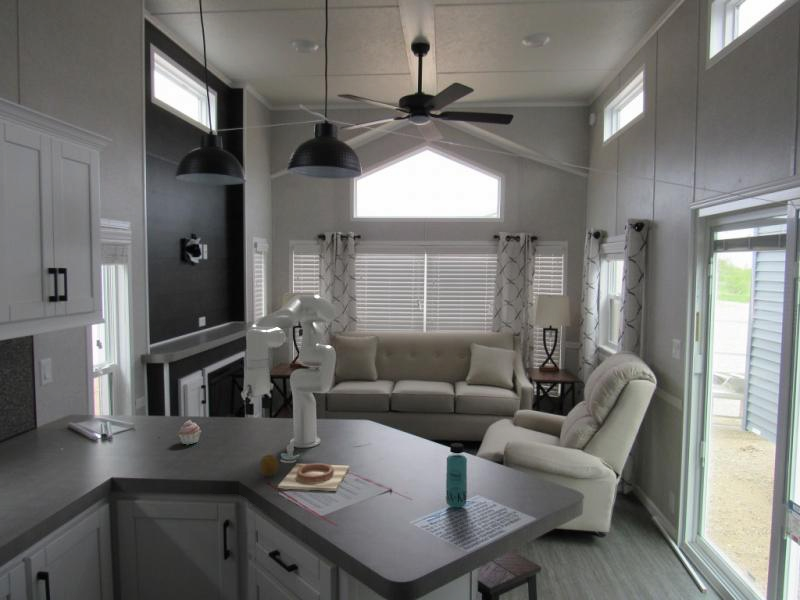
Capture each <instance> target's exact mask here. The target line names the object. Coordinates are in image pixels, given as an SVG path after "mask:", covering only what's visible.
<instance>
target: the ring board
mask: <svg viewBox="0 0 800 600" xmlns="http://www.w3.org/2000/svg"><path fill="white" fill-rule="evenodd" d="M350 468H351V467H350V465H341V464H339V465H336V464H328V463H323V462H320V463H319V462H314V463H296V464H295V465H294V466H293V467H292V469H291V470H290V471H289V472H288V473H287V475H286V476H285V477H284V478H283V480H282V481H280V483H279V484H278V485H277V489H278V488H284V489H283V490H289V489H307V490H306V491H309V490H325V491H324V492H329V491H336V492H337V491H338V490H339V488H340V486H341V484H342V483H343V481H344V480H345V478H344V477H346V476H347V474H348V472H349V470H350ZM341 482H342V483H341ZM338 487H339V488H338ZM337 489H338V490H337Z"/></svg>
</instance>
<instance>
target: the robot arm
mask: <svg viewBox="0 0 800 600" xmlns="http://www.w3.org/2000/svg"><path fill="white" fill-rule="evenodd" d="M336 310H337V309H336V307H335V305H334V304H333V303H332V302H331V301H329V300H327V299H326V298H324V297H322V296H320V295H317V294H296V295H294V296H293V297H292V298H290V299H289V301H287V302H286V303H285V304H284V305H283V306H282V307H281V308H280V309H279V310H277V311H274V312H272V313H270V314H267V315H264V316H262V317H259V319H257V320H256V321H254V323H253V324H251V326H249V328H248V330H247V332H246V336H245V339H246V369H245V371H244V376H243V377H244V378H243V390H242V391H241V393H240V395H241V398H242V401H243V403H244V406H245V407H244V412H245V416H246V415H248V416H253V415H254V414H255V413H254V411H255V410H254V408H255V404H254V403H253V402H254V400H255V398H258V397H261V396H262V397H261V409H267V410H270V409H271V398H272V393H273V388H274V383H272V382H271V376H270V374H271V373H270V368H269V367H270V366H269V348H272V349H273V348H276V349H277V348H279V347H281V346H282V345H283V344H285V341H286V332H285V331H286V330H289V329H293V328H294V327H295V326H296V325H297V323H299V322H300V325H301V329H302V338H301V343H300V348H299V354H298V363H299V364H300V365H301V366H304V367H308V368H298V369H295V370H294V371H293V372H291V374H290V377H289V383H290V388H291V394H292V413H293V414H292V415H293V417H292V418H293V419H292V421H293V438H291V439H290V442H289V444H292V445H293V446H294V448H297V449H298V448H299V449H300V448H302V449H303V448H304V449H305V448H312V447H316V446H318V445H319V444H321V438H320V437H318V436H317V434H318V433H317V401H316V398H315V396H314V393H315V394H327V393H328V392H329V391H330V389H331V388H332V384H333V379H334V373H335V367H336V362H337V352H336V350H335V348H334V346H332V345H329V344H322V343H323V337H324V336H323V331H322V330H321V327H320V326H319V324H318V323H322V324H324V323H325V324H327V323H332V322H333V321H334V320H335V319H336V315H337V311H336ZM309 367H310V368H309ZM312 367H313V368H314V369H313V368H312ZM315 368H320V369H315Z"/></svg>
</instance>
